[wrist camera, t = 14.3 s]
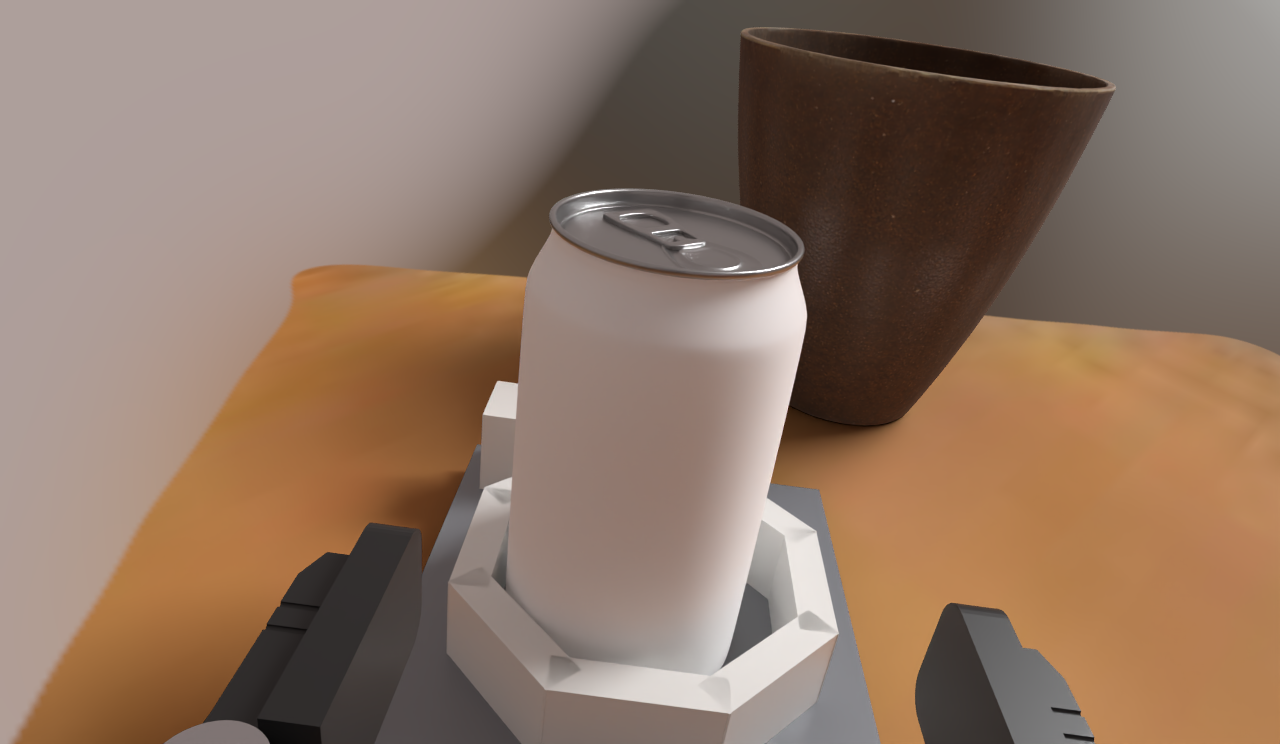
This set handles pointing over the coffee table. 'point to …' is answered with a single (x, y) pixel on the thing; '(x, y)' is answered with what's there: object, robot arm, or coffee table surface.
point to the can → (649, 421)
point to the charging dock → (615, 693)
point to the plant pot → (900, 195)
